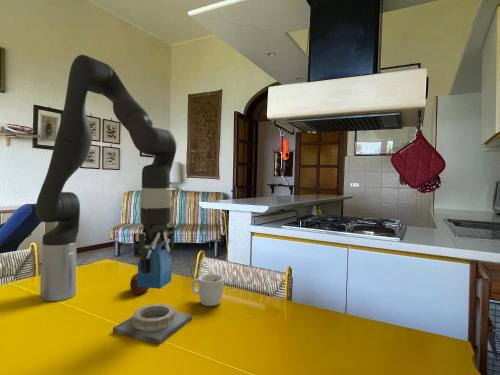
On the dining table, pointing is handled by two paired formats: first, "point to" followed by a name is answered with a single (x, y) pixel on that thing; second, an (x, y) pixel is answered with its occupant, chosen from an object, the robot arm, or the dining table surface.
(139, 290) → the potato
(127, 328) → the ring block
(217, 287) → the cup
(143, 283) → the perfume bottle
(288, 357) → the dining table surface
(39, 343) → the dining table surface
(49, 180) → the robot arm
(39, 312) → the dining table surface
